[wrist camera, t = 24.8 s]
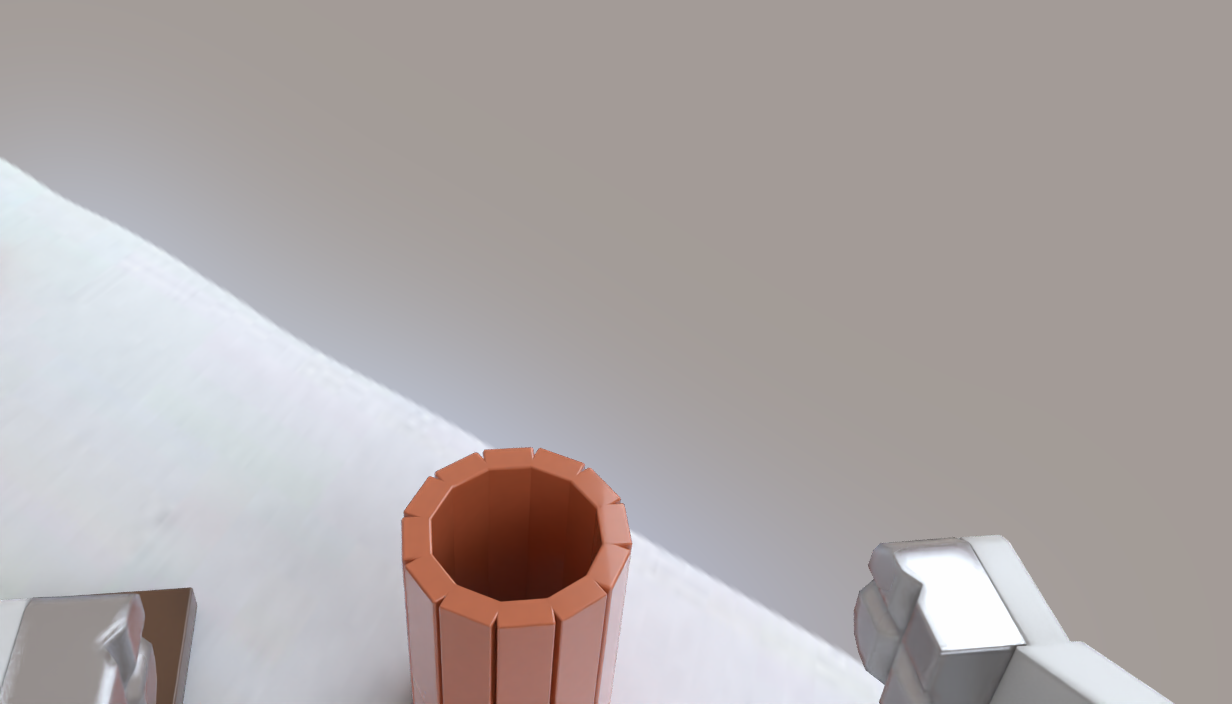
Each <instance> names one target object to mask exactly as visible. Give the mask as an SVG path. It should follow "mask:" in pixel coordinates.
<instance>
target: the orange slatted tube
mask: <svg viewBox="0 0 1232 704" xmlns="http://www.w3.org/2000/svg"><path fill="white" fill-rule="evenodd" d="M584 468H585V464H584V463H582V462H579V461H576V460H573V459H570V458H568V457H565V456H562V455H559V454H556V453H553V452H550V451H547V450H545V449H542V448H539V449H538V450H537V452H536V454H535V455H534V450H533V448H531V447H528V448H527V447H525V448H507V449H488V450H484V451H483V458H482V457H481V456H480V455H479V453H477V452H475V453H473V454H471V455H469V456H467V457H465V458H463V459H461V460H459V461H456V462H454V463H452V464H450V465H448V466H446V467H444V468H442V469H440V470H438V471H436V472H435V478H434V477H431V476H429V477H428V478H427V480H426V481H425V482H424V484H423V485H422V487H421V488H420V489H419V491H418V492H417V494H416V495H415V496H414V498H413V499H412V501H411V502H410V503H409V505H408V506H407V508H406V509H405V510H404V518H402V520H401V538H402V569H403V583H404V596H405V609H406V623H407V636H408V649H409V662H410V676H411V689H412V702H413V704H610V699H611V692H612V685H613V678H614V671H615V663H616V656H617V649H618V642H619V635H620V628H621V620H622V613H623V606H624V599H625V592H626V585H627V577H628V570H629V563H630V556H631V549H632V540H631V535H630V530H629V525H628V520H627V515H626V510H625V505H624V504H623V503H620V501H621V499H620V497H619V496H618V495H617V494H616V493H615V492H614V491H613V490H612V489H611V488H610V487H609V486H608V485H607V484H606V483H605V482H604V481H603V480H602V479H601V478H600V477H599V476H598V475H597V474H596V473H595V472H594V471H593V470H592V469H591V468H587V469H585V470H584Z"/></svg>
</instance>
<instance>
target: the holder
mask: <svg viewBox="0 0 1232 704" xmlns="http://www.w3.org/2000/svg"><path fill="white" fill-rule="evenodd" d="M133 593H134V594H139V595H140V598H141V602H142V605H143V609H144V613H145V620H144V626H143V631H142V637H143V638H144V639H146V640H147V641H148V642H150V643H151V644H152V647H153V652H154V656H155V663H156V674H157V691H156V704H183V698H184V691H185V684H186V677H187V671H188V664H189V657H190V650H191V644H192V637H193V630H194V623H195V616H196V610H197V603H196V599H195V596H194V592H193V589H192V588H178V589H164V590H150V591H135V592H121V593H107V594H93V595H109V594H133ZM78 596H85V595H78Z"/></svg>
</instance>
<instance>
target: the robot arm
mask: <svg viewBox="0 0 1232 704" xmlns="http://www.w3.org/2000/svg"><path fill="white" fill-rule="evenodd" d="M868 567H869V569H870V571H871V573H872V576H873V578H874V579H873V580H872V581H871V582H870V583H869V584H868V585H866V586H865V587H864V588H863V589H862V590H861V591H859V594H858V598H857V601H856V606H855V609H854V635H855V640H856V644H857V648H858V652H859V655H860V657H861V660H862V662H863V665H864V667H865V670H866V671H868V672H869V673H870V674H871V675H873V676H874V677H875V678H877V679H878V680H879V681H880V682H882V683H883V684H884V685H885V686H884V689H883V692H882V695H881V698H880V701H879V703H880V704H1174V703H1173V702H1171V701H1170V700H1168V699H1167V698H1165V697H1164V696H1162V695H1161V694H1159V693H1158V692H1157V691H1155V690H1154V689H1152V688H1151V687H1149V686H1148V685H1146V684H1145V683H1143V682H1142V681H1140V680H1139V679H1137V678H1136V677H1134V676H1133V675H1131V674H1130V673H1128V672H1127V671H1125V670H1124V669H1122V668H1121V667H1119V666H1118V665H1116V664H1115V663H1114V662H1112V661H1111V660H1109V659H1108V658H1106V657H1105V656H1103V655H1102V654H1100V653H1099V652H1097V651H1096V650H1094V649H1093V648H1091V647H1090V646H1088V645H1087V644H1085V643H1084V642H1082V641H1077V642H1070V640H1069V639H1068V637H1067V635H1066V634H1065V632H1064V630H1063V629H1062V627H1061V626H1060V624H1059V622H1058V621H1057V619H1056V617H1055V616H1054V614H1053V612H1052V611H1051V609H1050V608H1049V606H1048V604H1047V603H1046V601H1045V600H1044V598H1043V596H1042V594H1041V593H1040V591H1039V590H1038V588H1037V586H1036V585H1035V583H1034V581H1033V580H1032V578H1031V576H1030V575H1029V574H1028V572H1027V570H1026V568H1025V567H1024V565H1023V563H1022V562H1021V560H1020V559H1019V557H1018V555H1017V554H1016V552H1015V550H1014V549H1013V547H1012V545H1011V544H1010V542H1009V541H1008V540H1007V539H1005V538H1004V537H1003V536H1001V535H992V536H991V535H990V536H975V537H961V538H955V537H953V538H941V539H927V540H915V541H902V542H889V543H880V544H879V545H878V546H877V547H876V548H875V549H874V550H873V553H872V555H871V559H870V561H869V564H868ZM144 620H145V613H144V609H143V605H142V602H141V598H140V595H139V594H134V593H133V594H109V595H85V596H62V597H38V598H27V599H6V600H0V704H156V691H157V674H156V663H155V656H154V652H153V647H152V644H151V643H150V642H148V641H147V640H146V639H144V638H143V637H142V631H143V626H144Z"/></svg>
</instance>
